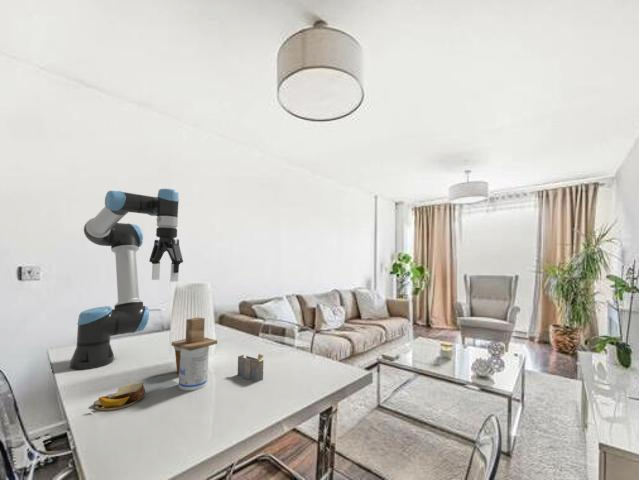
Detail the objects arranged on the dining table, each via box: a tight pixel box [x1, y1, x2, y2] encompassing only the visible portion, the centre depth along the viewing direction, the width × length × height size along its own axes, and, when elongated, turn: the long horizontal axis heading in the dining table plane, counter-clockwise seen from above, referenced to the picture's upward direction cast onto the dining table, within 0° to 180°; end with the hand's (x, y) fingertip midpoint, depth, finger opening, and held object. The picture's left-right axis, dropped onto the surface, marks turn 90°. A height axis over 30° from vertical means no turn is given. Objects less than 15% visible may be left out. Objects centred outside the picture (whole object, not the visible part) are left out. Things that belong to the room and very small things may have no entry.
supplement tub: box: [178, 346, 210, 391], centre depth 111 cm, size 10×10×15 cm
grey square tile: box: [141, 375, 179, 396], centre depth 111 cm, size 12×12×1 cm
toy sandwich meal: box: [93, 381, 145, 412], centre depth 98 cm, size 12×14×5 cm
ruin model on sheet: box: [237, 353, 264, 383], centre depth 120 cm, size 11×3×10 cm, turn 56°
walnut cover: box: [171, 316, 218, 351], centre depth 112 cm, size 11×11×9 cm
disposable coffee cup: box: [173, 346, 181, 375], centre depth 124 cm, size 10×10×12 cm
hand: (164, 280), depth 123 cm, fingers open, 13 cm apart
